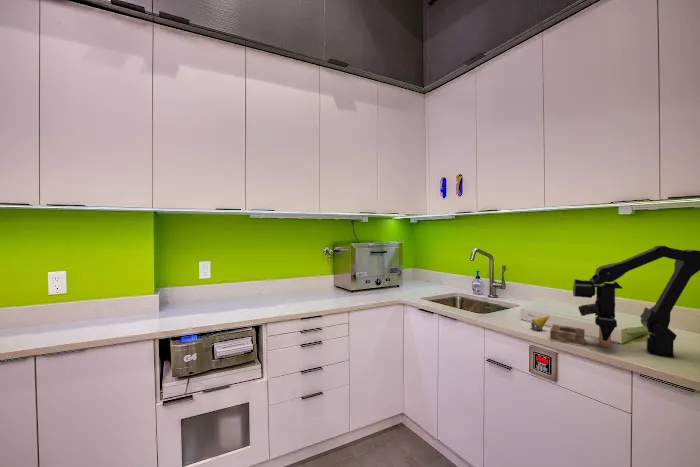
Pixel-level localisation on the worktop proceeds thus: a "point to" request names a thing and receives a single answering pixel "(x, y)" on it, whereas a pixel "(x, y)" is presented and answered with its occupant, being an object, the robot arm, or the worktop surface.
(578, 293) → the robot arm
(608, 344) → the peg
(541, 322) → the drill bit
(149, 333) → the worktop surface
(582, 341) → the hole block
